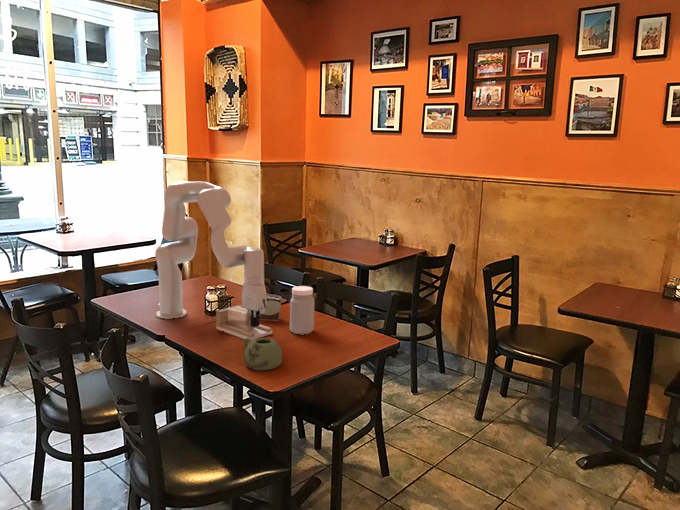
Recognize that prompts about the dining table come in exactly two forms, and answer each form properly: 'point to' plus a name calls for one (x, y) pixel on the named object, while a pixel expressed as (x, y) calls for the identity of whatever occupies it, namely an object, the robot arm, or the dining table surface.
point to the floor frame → (252, 333)
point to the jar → (302, 310)
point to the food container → (272, 308)
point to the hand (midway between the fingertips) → (255, 325)
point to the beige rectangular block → (239, 318)
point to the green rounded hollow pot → (262, 353)
